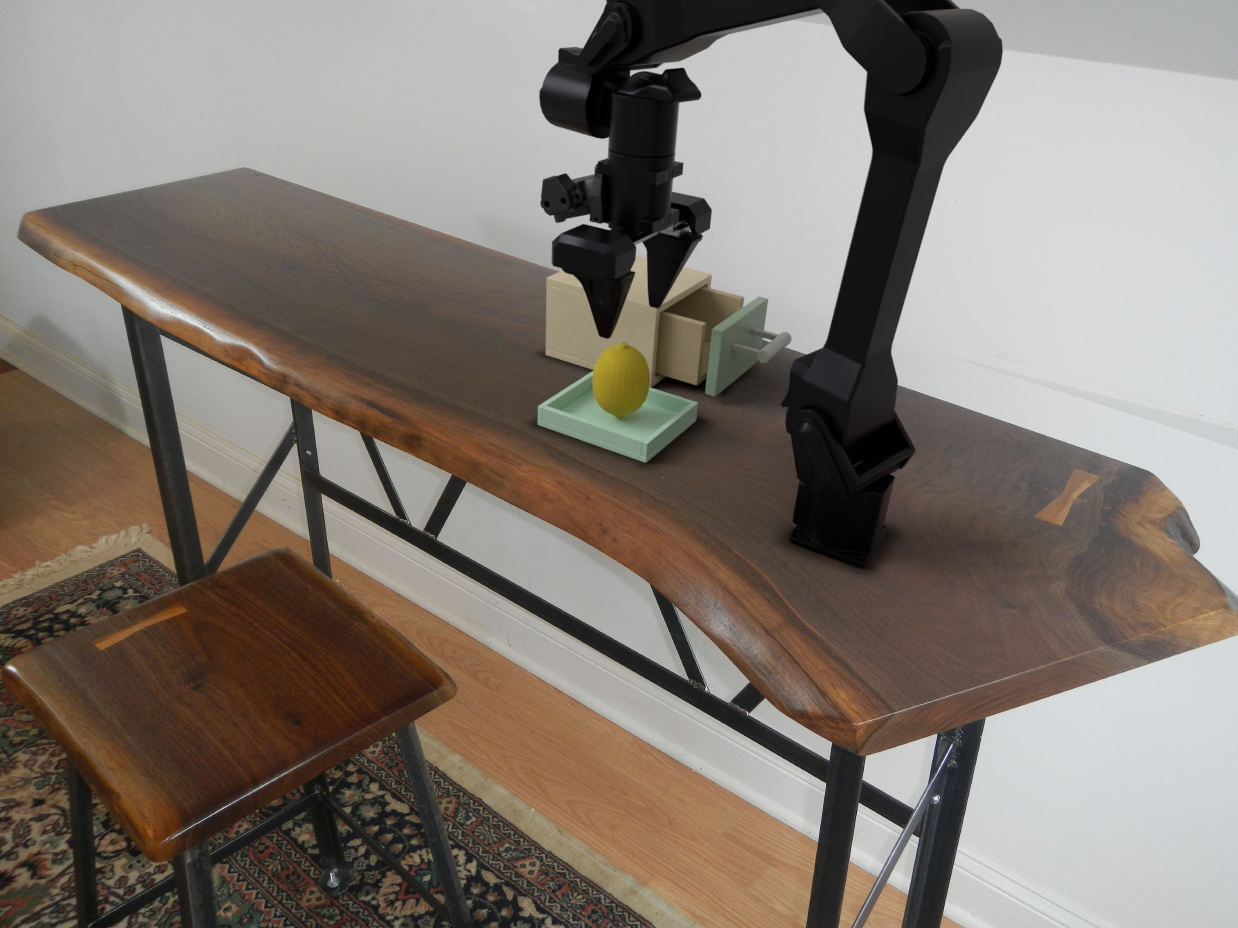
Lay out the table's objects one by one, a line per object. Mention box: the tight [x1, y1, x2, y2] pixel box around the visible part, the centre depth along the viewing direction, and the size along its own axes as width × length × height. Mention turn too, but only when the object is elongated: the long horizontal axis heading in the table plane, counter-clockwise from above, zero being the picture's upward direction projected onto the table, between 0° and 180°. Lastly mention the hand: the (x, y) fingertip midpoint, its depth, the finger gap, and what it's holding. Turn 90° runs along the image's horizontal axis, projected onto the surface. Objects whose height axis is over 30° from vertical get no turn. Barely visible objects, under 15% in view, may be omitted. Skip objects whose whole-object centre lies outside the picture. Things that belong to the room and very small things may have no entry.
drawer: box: [655, 286, 793, 398], centre depth 102 cm, size 17×11×7 cm
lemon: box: [592, 342, 650, 419], centre depth 92 cm, size 6×6×8 cm
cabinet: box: [545, 255, 713, 388], centre depth 106 cm, size 14×13×9 cm
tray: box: [537, 370, 699, 464], centre depth 94 cm, size 12×10×2 cm
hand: (630, 321), depth 89 cm, fingers open, 9 cm apart
